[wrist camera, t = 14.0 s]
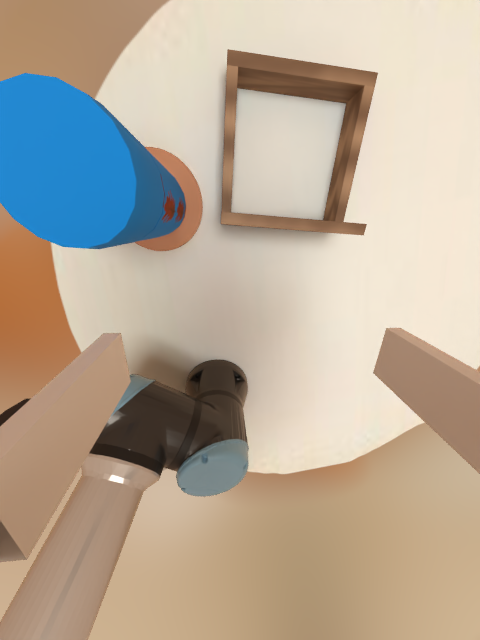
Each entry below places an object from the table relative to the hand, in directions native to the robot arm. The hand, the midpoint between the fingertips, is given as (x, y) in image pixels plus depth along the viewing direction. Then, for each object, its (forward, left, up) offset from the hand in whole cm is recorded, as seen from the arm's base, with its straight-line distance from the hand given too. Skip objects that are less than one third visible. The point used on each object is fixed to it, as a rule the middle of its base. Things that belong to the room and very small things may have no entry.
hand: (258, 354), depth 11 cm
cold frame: (+16, -8, -36) cm, 41 cm away
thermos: (+8, +14, -35) cm, 39 cm away
